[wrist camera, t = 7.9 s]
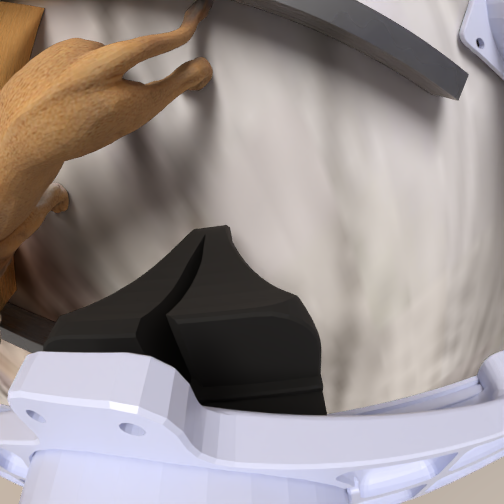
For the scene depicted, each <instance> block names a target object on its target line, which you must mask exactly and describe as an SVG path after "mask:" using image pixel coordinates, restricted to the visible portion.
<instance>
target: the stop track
mask: <svg viewBox="0 0 504 504" xmlns="http://www.w3.org/2000/svg"><path fill="white" fill-rule="evenodd" d="M232 1H236V2H239V3H243V4H246V5H249V6H252V7H255V8H258V9H261V10H264V11H267V12H270V13H273V14H276V15H279V16H281V17H284V18H287V19H289V20H292V21H294V22H297V23H299V24H302V25H304V26H307V27H309V28H311V29H314V30H316V31H318V32H321V33H323V34H325V35H327V36H330V37H332V38H334V39H336V40H338V41H340V42H342V43H344V44H346V45H348V46H350V47H352V48H354V49H356V50H358V51H360V52H362V53H364V54H366V55H368V56H370V57H371V58H373V59H375V60H377V61H379V62H380V63H382V64H384V65H386V66H387V67H389V68H391V69H392V70H394V71H396V72H397V73H399V74H401V75H402V76H404V77H406V78H407V79H409V80H410V81H412V82H414V83H415V84H417V85H418V86H420V87H421V88H423V89H424V90H426V91H427V92H429V93H430V94H432V95H437V96H441V97H446V98H450V99H454V100H459V97H460V95H461V93H462V90H463V88H464V85H465V83H466V80H467V77H468V75H469V74H467V73H466V72H465V71H464V70H463V69H461V68H460V67H459V66H458V65H456V64H455V63H454V62H453V61H451V60H450V59H449V58H447V57H446V56H445V55H443V54H442V53H441V52H439V51H438V50H437V49H435V48H434V47H432V46H431V45H429V44H428V43H427V42H425V41H424V40H422V39H421V38H419V37H418V36H416V35H415V34H413V33H412V32H410V31H409V30H407V29H405V28H404V27H402V26H401V25H399V24H397V23H396V22H394V21H392V20H391V19H389V18H387V17H386V16H384V15H382V14H380V13H379V12H377V11H375V10H373V9H371V8H370V7H368V6H366V5H364V4H362V3H360V2H358V1H356V0H232ZM44 9H45V8H41V7H35V6H29V5H23V4H17V3H10V2H2V1H0V92H1V90H2V88H3V87H4V85H5V84H6V83H7V82H8V81H9V79H10V78H11V77H12V76H13V75H14V74H16V73H17V72H18V71H19V70H21V69H22V68H23V67H24V66H25V65H26V64H27V63H28V62H29V59H30V55H31V51H32V48H33V44H34V40H35V37H36V33H37V30H38V27H39V24H40V20H41V17H42V14H43V11H44ZM16 290H17V287H16V278H15V268H14V255H13V257H12V261H11V263H10V264H9V265H8V267H7V269H6V272H5V273H4V275H3V276H2V277H1V278H0V315H1V322H0V331H1V339H3V340H5V341H7V342H9V343H11V344H14V345H16V346H18V347H20V348H22V349H24V350H27V351H29V352H31V353H35V352H39V351H43V346H44V344H45V342H46V340H47V338H48V336H49V334H50V333H51V331H52V329H53V327H54V325H55V323H56V322H53V321H50V320H48V319H46V318H43V317H41V316H38V315H36V314H34V313H31V312H29V311H27V310H24V309H22V308H20V307H17V306H15V305H13V304H11V303H9V302H8V300H9V299H10V298H11V296H12V295H13V294H14V292H15V291H16Z"/></svg>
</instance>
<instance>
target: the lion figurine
mask: <svg viewBox="0 0 504 504" xmlns="http://www.w3.org/2000/svg"><path fill="white" fill-rule="evenodd" d="M212 3H213V0H197V1H196V2H195V3H194V4H193V5H192V6H191V7H190V8H188V10H187V11H186V12H185V15H184V20H183V22H182V24H181V26H180V28H179V29H177V30H175V31H171V32H168V33H162V34H157V35H148V36H143V37H138V38H135V39H131V40H127V41H121V42H116V43H113V44H109V45H106V46H104V45H103V44H102V43H99V42H95V41H90V40H85V39H81V38H72V39H68V40H65V41H62V42H59V43H56V44H54V45H53V46H51V47H49V48H47V49H46V50H44V51H43V52H41V53H40V54H38V55H37V56H35V57H34V58H33V59H31V60H30V61H29V62H28V63H27V64H26V65H25V66H24V67H23V68H22V69H21V70H19V71H18V72H17V73H16V74H14V75H13V76H12V77H11V78H10V79H9V81H8V82H7V83H6V84H5V85H4V87H3V88H2V90H1V92H0V278H1V277H2V276H3V275H4V273H5V272H6V269H7V267H8V265H9V264H10V263H11V261H12V257H13V255H14V253H15V250H16V249H17V248H18V247H19V246H20V245H21V244H22V243H23V242H24V241H25V240H26V239H27V238H29V237H30V236H31V235H32V234H33V233H34V232H35V231H36V230H37V229H38V228H39V227H40V225H41V224H42V222H43V221H44V219H45V217H46V215H47V214H48V213H49V212H50V211H54V212H55V213H59V212H62V211H66V210H67V209H68V204H69V198H68V193H67V191H66V189H65V188H64V187H63V186H62V185H61V184H59V183H53V184H51V183H52V182H53V180H54V179H55V177H56V176H57V174H58V172H59V171H60V169H61V167H62V165H63V163H64V161H67V160H71V159H74V158H78V157H82V156H84V155H87V154H89V153H92V152H94V151H97V150H99V149H101V148H103V147H105V146H107V145H109V144H111V143H113V142H114V141H116V140H118V139H119V138H121V137H123V136H125V135H127V134H129V133H131V132H133V131H135V130H137V129H139V128H140V127H141V126H143V125H144V124H146V123H147V122H148V121H150V120H151V119H152V118H153V117H154V116H156V115H157V114H158V113H159V112H160V111H162V110H163V109H164V108H165V107H166V106H167V105H168V104H169V103H170V102H172V101H173V100H174V99H175V98H176V97H178V96H179V95H180V94H182V93H183V92H185V91H186V90H190V91H191V90H200V89H202V88H203V87H205V86H206V85H207V83H208V82H209V81H210V80H211V78H212V74H213V71H212V67H211V65H210V63H209V62H208V61H207V60H206V59H205V58H203V57H197V58H195V59H194V60H191V61H188V62H185V63H184V64H182V65H181V66H179V67H178V68H177V69H176V70H175V71H174V72H173V73H172V74H170V75H169V76H167V77H166V78H164V79H162V80H159V81H153V82H150V83H148V84H145V85H144V84H143V83H141V82H136V81H131V80H125V79H123V78H122V77H123V75H124V74H125V73H126V72H127V71H128V70H129V69H130V68H132V67H133V66H135V65H136V64H138V63H139V62H142V61H144V60H146V59H148V58H151V57H154V56H157V55H160V54H163V53H166V52H168V51H171V50H173V49H175V48H178V47H180V46H182V45H184V44H185V43H187V42H188V41H189V40H190V39H191V37H192V36H193V34H194V32H195V31H196V28H197V25H198V24H199V22H200V21H202V20H203V19H204V18H206V17H207V16H208V14H209V10H210V8H211V7H212ZM0 322H1V315H0ZM0 343H1V331H0Z"/></svg>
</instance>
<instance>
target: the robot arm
mask: <svg viewBox="0 0 504 504" xmlns="http://www.w3.org/2000/svg"><path fill="white" fill-rule="evenodd" d="M459 35H460V39H461V41H462V43H463V44H464V45H465V46H466V47H468V48H469V49H470V50H471V51H472V52H473V53H475V54H476V55H477V56H478V57H479V58H480V59H481V60H483V61H484V62H485V63H486V64H487V65H488V66H489V67H490V68H491V69H492V70H493V71H494V72H495V73H496V74H498V75H499V76H500V77H501V78H502V79H503V80H504V0H470V1H469V4H468V7H467V10H466V13H465V16H464V19H463V22H462V25H461V28H460V32H459ZM476 40H478V42H479V48H478V46H477V44H476ZM8 403H9V405H10V406H7V405H3V404H0V476H1V477H3V478H5V479H7V480H9V481H12V482H13V483H15V484H18V485H20V486H22V487H23V490H22V494H21V497H20V501H19V504H400V503H403V502H406V501H408V500H411V499H414V498H417V497H419V496H421V495H424V494H427V493H429V492H431V491H434V490H436V489H438V488H441V487H443V486H445V485H447V484H450V483H452V482H454V481H456V480H458V479H460V478H463V477H464V476H467V475H469V474H471V473H473V472H475V471H477V470H479V469H481V468H483V467H485V466H486V465H488V464H490V463H492V462H494V461H496V460H498V459H500V458H502V457H503V456H504V350H502V351H499V352H497V353H494V354H492V355H490V356H489V357H488V358H486V359H485V360H484V362H483V363H482V365H481V366H480V368H479V371H478V374H477V375H476V376H473V377H470V378H468V379H465V380H462V381H459V382H456V383H453V384H450V385H447V386H444V387H440V388H437V389H434V390H431V391H427V392H424V393H420V394H417V395H413V396H409V397H405V398H402V399H398V400H394V401H389V402H385V403H381V404H377V405H372V406H367V407H363V408H358V409H353V410H347V411H342V412H336V413H330V414H327V412H326V407H325V401H324V396H323V383H322V378H321V342H320V337H319V334H318V331H317V329H316V327H315V324H314V322H313V320H312V318H311V316H310V315H309V313H308V311H307V309H306V308H305V306H304V305H303V303H302V302H301V300H300V299H299V297H298V296H296V295H294V294H291V293H289V292H286V291H284V290H281V289H279V288H277V287H275V286H273V285H271V284H270V283H268V282H267V281H265V280H264V279H263V278H261V277H260V276H259V275H258V274H257V273H255V272H254V271H253V270H252V269H251V268H250V267H249V265H248V264H247V263H246V262H245V261H244V259H243V258H242V257H241V255H240V254H239V252H238V251H237V249H236V247H235V246H234V244H233V242H232V236H231V231H230V227H228V226H227V225H223V226H216V227H208V228H201V229H194V230H193V231H192V232H190V233H189V234H188V235H187V236H186V237H185V238H184V239H183V240H182V241H181V242H180V243H179V244H178V245H177V246H176V247H175V248H174V249H173V250H172V251H171V252H170V253H169V254H167V255H166V256H165V257H164V258H163V259H162V260H161V261H160V262H158V263H157V264H156V265H155V266H154V267H153V268H151V269H150V270H149V271H148V272H146V273H145V274H144V275H142V276H141V277H139V278H138V279H137V280H135V281H134V282H132V283H130V284H129V285H127V286H125V287H124V288H122V289H120V290H119V291H117V292H115V293H114V294H112V295H110V296H108V297H106V298H104V299H102V300H100V301H98V302H95V303H93V304H91V305H89V306H86V307H84V308H81V309H78V310H76V311H73V312H70V313H68V314H65V315H62V316H59V318H58V320H57V322H56V323H55V325H54V327H53V329H52V331H51V333H50V334H49V336H48V338H47V340H46V342H45V344H44V346H43V351H39V352H35V353H32V354H28V355H27V356H26V358H25V360H24V362H23V363H22V365H21V367H20V369H19V371H18V373H17V375H16V377H15V379H14V381H13V383H12V385H11V387H10V389H9V391H8Z"/></svg>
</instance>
